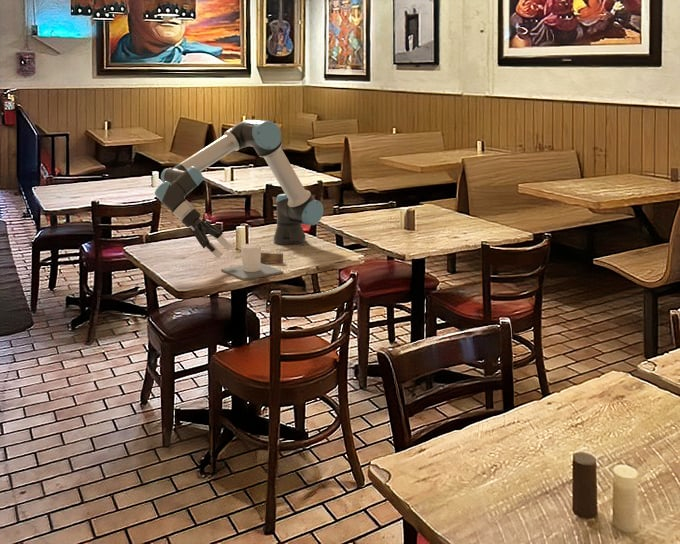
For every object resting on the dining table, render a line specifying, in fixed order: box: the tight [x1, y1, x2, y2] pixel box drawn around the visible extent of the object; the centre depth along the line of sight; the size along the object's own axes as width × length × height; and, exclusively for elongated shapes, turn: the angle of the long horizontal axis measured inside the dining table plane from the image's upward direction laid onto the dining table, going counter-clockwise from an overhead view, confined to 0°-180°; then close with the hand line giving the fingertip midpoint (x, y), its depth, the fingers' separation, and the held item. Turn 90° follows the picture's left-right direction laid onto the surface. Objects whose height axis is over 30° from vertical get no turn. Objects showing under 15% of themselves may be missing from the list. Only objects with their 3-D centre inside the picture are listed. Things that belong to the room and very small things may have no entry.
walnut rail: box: [260, 251, 284, 265], centre depth 318 cm, size 14×2×4 cm, turn 73°
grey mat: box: [221, 262, 284, 281], centre depth 302 cm, size 18×18×1 cm
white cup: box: [240, 243, 262, 272], centre depth 300 cm, size 8×8×10 cm
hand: (225, 252), depth 301 cm, fingers open, 13 cm apart
